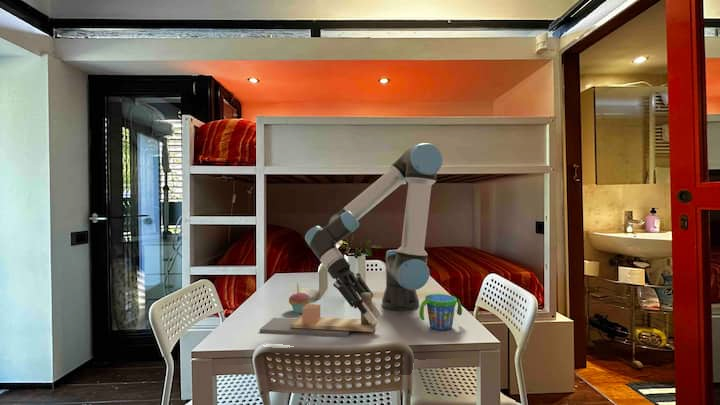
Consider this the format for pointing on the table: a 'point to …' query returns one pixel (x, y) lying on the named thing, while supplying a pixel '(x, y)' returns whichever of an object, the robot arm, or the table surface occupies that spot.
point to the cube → (311, 313)
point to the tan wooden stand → (342, 320)
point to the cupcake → (299, 301)
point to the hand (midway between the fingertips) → (376, 318)
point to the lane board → (298, 329)
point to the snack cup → (440, 310)
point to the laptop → (323, 285)
